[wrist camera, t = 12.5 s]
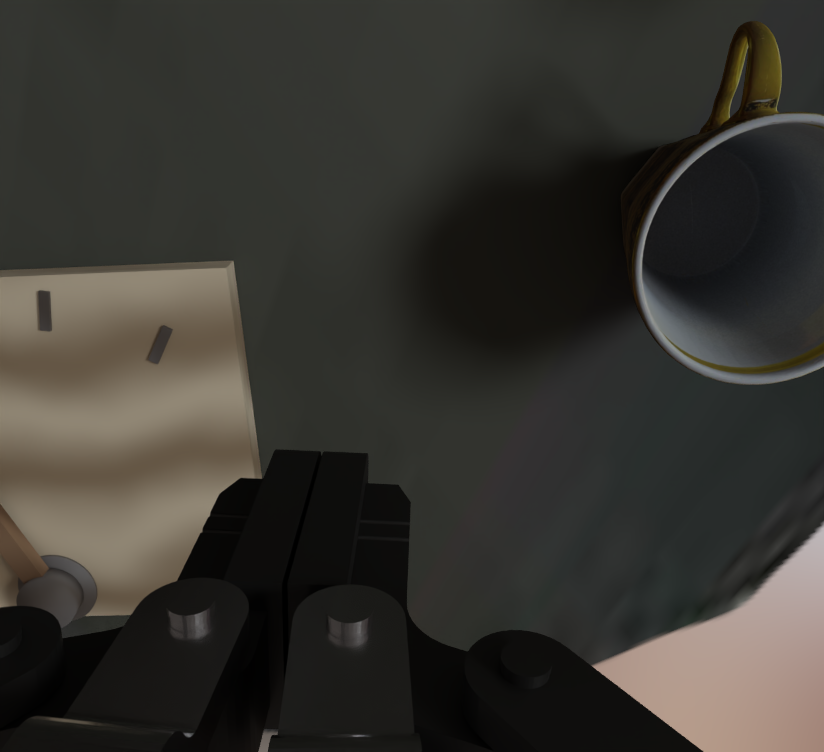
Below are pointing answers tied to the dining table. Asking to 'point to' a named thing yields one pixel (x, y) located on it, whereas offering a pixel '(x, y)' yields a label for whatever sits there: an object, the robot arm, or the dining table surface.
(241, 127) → the dining table surface
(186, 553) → the board
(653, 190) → the ceramic cup
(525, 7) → the dining table surface
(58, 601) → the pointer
